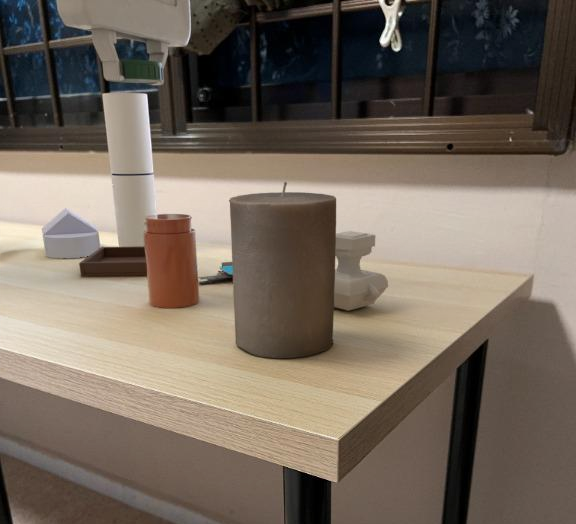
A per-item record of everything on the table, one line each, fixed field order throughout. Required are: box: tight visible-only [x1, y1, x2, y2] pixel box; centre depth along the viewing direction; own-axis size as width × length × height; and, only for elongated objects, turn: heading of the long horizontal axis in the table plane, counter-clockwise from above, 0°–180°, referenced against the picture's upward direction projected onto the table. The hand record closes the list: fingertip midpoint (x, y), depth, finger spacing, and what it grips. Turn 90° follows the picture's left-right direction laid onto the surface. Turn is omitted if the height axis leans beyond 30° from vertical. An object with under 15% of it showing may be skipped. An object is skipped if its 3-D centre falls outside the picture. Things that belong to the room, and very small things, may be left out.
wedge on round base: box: [41, 207, 101, 259], centre depth 105 cm, size 9×7×13 cm
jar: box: [143, 213, 200, 309], centre depth 72 cm, size 6×6×10 cm
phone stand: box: [198, 261, 233, 285], centre depth 86 cm, size 20×12×2 cm, turn 114°
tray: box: [78, 246, 147, 278], centre depth 93 cm, size 12×13×2 cm
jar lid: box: [106, 59, 164, 84], centre depth 71 cm, size 7×7×2 cm
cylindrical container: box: [101, 92, 158, 247], centre depth 105 cm, size 7×7×25 cm
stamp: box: [334, 230, 389, 312], centre depth 70 cm, size 9×7×8 cm
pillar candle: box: [228, 181, 337, 359], centre depth 57 cm, size 10×10×15 cm
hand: (135, 82), depth 71 cm, fingers closed on jar lid, 6 cm apart
